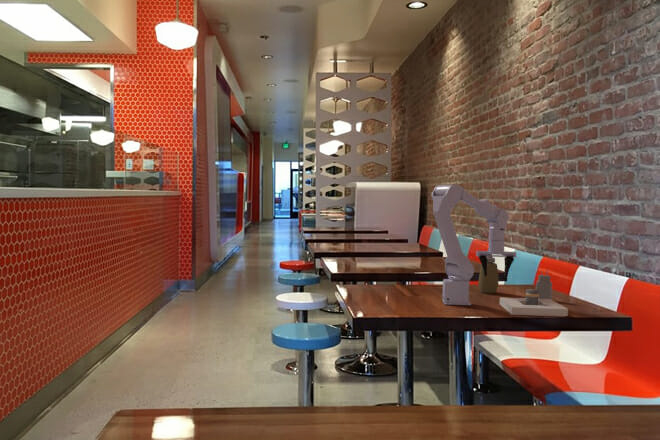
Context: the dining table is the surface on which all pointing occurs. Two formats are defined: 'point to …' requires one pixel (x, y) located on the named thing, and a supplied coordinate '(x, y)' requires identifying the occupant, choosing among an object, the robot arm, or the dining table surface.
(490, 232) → the robot arm
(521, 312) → the board
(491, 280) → the squeeze bottle
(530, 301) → the grey spice jar
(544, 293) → the power adapter
